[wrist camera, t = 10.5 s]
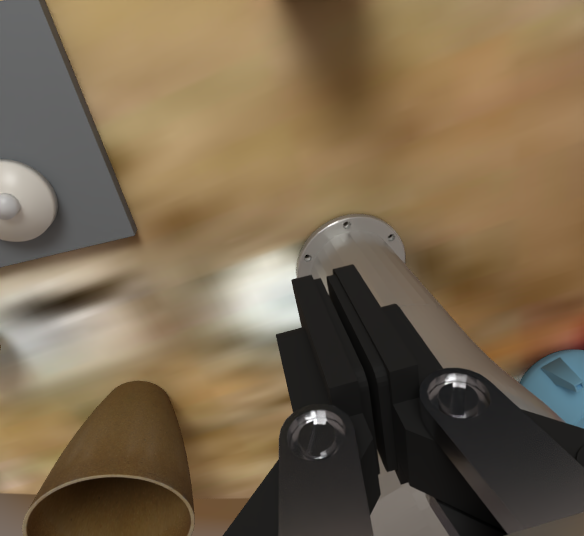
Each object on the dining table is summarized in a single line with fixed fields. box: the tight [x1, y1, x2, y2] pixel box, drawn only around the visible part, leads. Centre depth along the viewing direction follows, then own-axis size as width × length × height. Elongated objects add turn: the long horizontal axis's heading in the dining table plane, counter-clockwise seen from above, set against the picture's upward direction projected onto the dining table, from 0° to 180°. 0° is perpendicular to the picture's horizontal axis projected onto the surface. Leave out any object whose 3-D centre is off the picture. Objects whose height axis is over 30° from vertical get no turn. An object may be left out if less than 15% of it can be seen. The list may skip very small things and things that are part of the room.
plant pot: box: [22, 381, 195, 536], centre depth 46 cm, size 15×15×16 cm
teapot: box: [520, 350, 584, 428], centre depth 60 cm, size 15×15×11 cm
